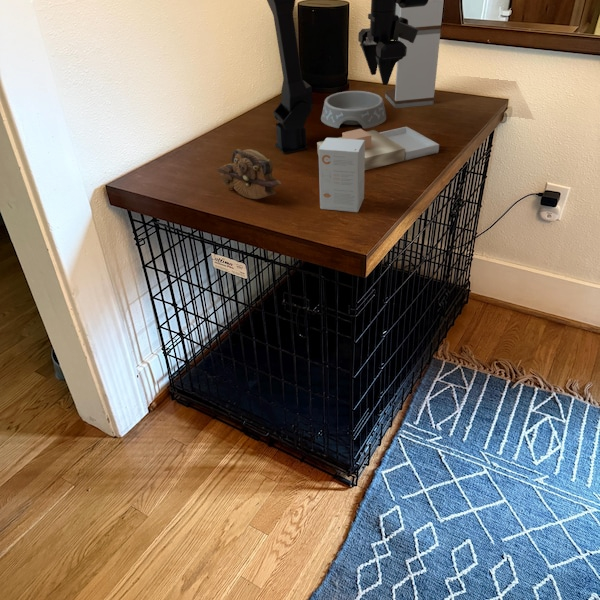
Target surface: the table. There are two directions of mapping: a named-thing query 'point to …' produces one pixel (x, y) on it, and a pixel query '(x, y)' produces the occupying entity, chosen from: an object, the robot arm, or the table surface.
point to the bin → (412, 142)
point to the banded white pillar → (418, 57)
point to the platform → (380, 151)
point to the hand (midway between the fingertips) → (379, 79)
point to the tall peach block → (358, 136)
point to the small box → (341, 174)
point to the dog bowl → (353, 109)
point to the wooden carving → (249, 174)
